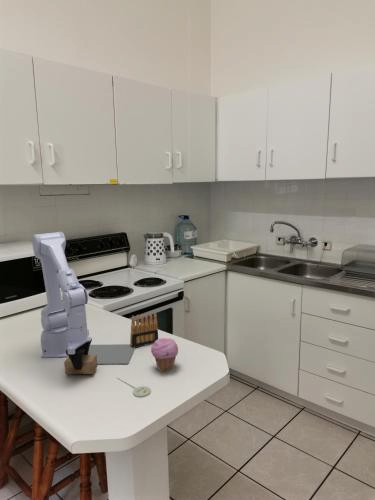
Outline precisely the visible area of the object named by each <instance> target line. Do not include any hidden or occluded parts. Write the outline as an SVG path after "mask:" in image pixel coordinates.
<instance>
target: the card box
mask: <svg viewBox="0 0 375 500" xmlns="http://www.w3.org/2000/svg"><path fill="white" fill-rule="evenodd" d="M63 364H64V374H67V375H68V374H69V375H72V374H73V375H76V374H77V375H79V374H80V375H82V374H83V375H86V374H87V375H88V374H89V375H94V373H95V371H96V370H97V368H98V366H99V365H98V364H97V355H83V359H82V369H81V370H75V369H74V367H73V364H72V362H71V360H70V358H69V357H68V356H67V357H66V359H65V361H63Z"/></svg>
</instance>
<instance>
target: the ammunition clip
mask: <svg viewBox="0 0 375 500" xmlns="http://www.w3.org/2000/svg"><path fill="white" fill-rule="evenodd" d="M152 314H153V315H152ZM157 317H158V316H157V313H156V311H154V313H152V312H150V313H149V316H148V313H145V315H144V314H142V313H141V315H140V317H139V314H137V315H136V317H135V315H132V317H131V326H130V339H129V340H130V342H129V343H130V346H131V347H132V348H133V347H135V348H138V347H142V346H146V345H153V344H154V342H155V341H156V340H158V339H159V329H158V319H157Z"/></svg>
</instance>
